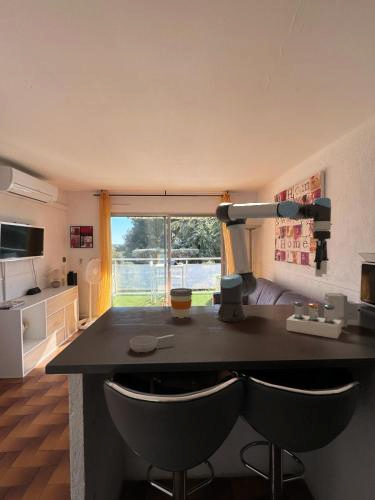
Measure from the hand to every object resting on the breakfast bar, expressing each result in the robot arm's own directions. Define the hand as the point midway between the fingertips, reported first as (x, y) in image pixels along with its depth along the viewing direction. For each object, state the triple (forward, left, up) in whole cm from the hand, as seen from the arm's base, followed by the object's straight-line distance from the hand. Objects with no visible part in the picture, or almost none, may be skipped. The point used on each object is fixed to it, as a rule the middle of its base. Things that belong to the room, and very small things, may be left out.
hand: (321, 275), depth 133 cm
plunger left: (-8, -8, -21) cm, 24 cm away
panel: (-2, -8, -25) cm, 26 cm away
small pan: (-49, -65, -25) cm, 85 cm away
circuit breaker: (+8, +10, -25) cm, 28 cm away
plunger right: (+5, -8, -21) cm, 23 cm away
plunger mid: (-2, -8, -21) cm, 23 cm away
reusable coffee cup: (-69, -20, -25) cm, 76 cm away
